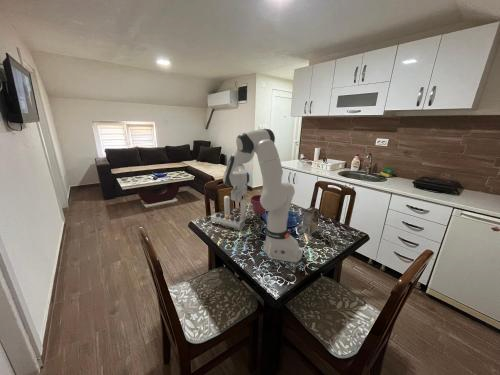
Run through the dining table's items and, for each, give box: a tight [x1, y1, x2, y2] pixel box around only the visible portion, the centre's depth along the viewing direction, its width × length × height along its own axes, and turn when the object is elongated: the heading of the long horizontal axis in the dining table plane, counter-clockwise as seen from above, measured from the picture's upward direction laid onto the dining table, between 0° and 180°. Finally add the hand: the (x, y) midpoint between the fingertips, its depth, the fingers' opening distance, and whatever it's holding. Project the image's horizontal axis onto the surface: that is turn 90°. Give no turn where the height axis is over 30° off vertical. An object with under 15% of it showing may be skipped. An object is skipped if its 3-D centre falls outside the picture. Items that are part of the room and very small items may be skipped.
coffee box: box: [301, 206, 320, 236], centre depth 140 cm, size 9×6×16 cm
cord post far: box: [223, 195, 231, 216], centre depth 161 cm, size 4×4×16 cm
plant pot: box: [250, 194, 267, 216], centre depth 168 cm, size 14×14×13 cm
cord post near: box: [239, 198, 247, 221], centre depth 155 cm, size 4×4×16 cm
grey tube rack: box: [210, 212, 246, 231], centre depth 150 cm, size 25×8×7 cm, turn 65°
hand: (239, 202), depth 164 cm, fingers closed
